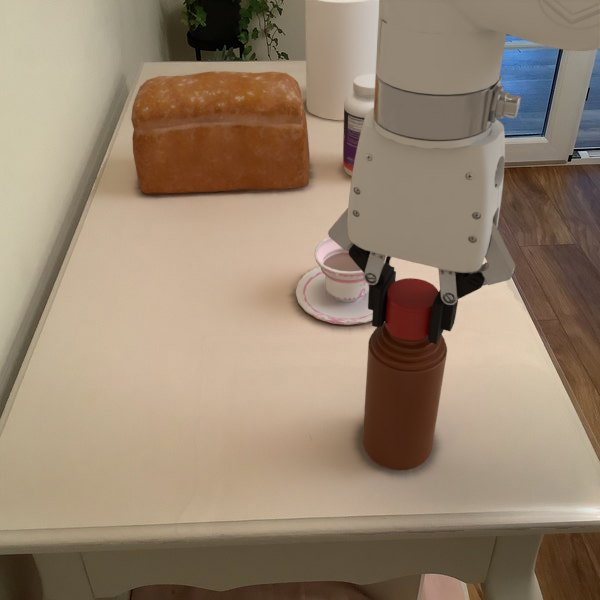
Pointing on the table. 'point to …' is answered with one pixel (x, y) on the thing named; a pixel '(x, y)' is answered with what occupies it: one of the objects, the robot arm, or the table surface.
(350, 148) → the pill bottle
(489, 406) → the table surface
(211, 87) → the bread
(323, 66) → the canister
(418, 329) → the cap
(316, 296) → the teacup
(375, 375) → the bottle
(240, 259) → the table surface
